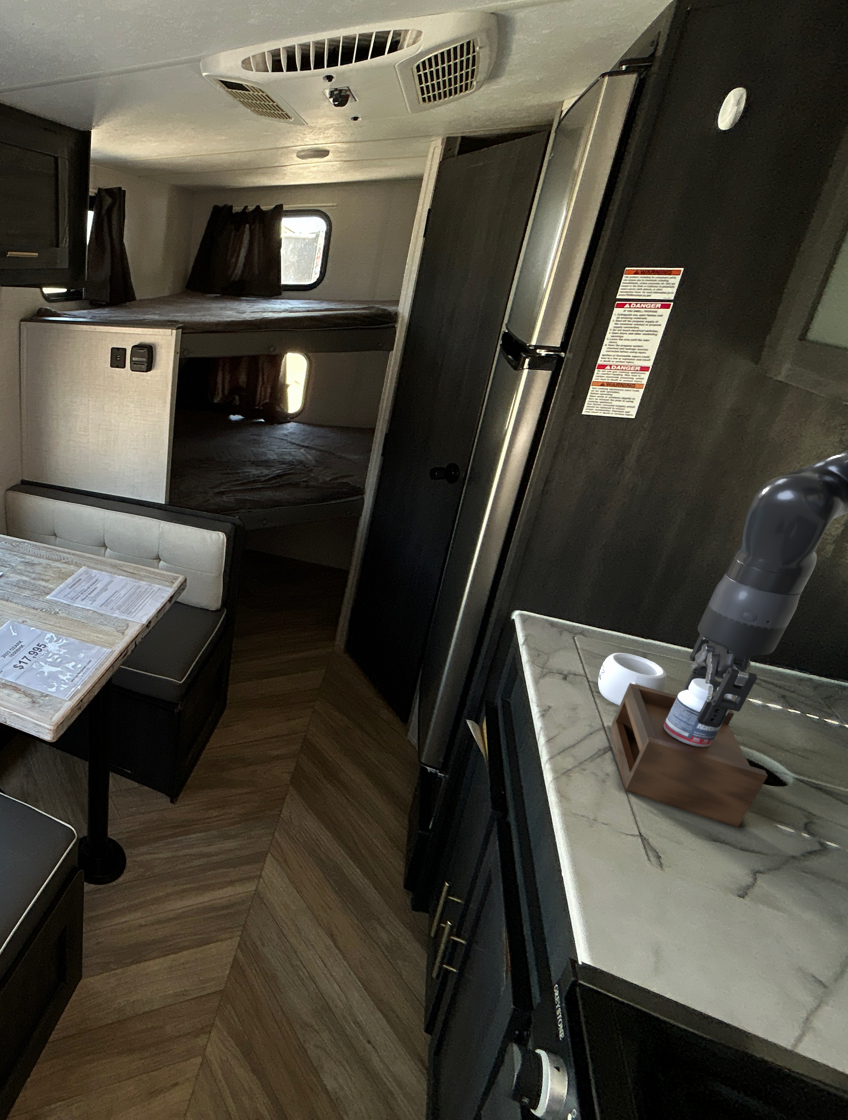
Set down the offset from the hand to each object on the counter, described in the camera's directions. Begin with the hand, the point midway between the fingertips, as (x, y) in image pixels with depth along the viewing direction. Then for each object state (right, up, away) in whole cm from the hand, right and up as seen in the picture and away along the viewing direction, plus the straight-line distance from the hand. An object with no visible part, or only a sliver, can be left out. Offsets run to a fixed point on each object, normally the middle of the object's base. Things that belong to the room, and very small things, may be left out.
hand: (699, 708), depth 92 cm
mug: (+7, -6, +20) cm, 22 cm away
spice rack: (0, -12, +5) cm, 13 cm away
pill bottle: (0, -5, +2) cm, 5 cm away
